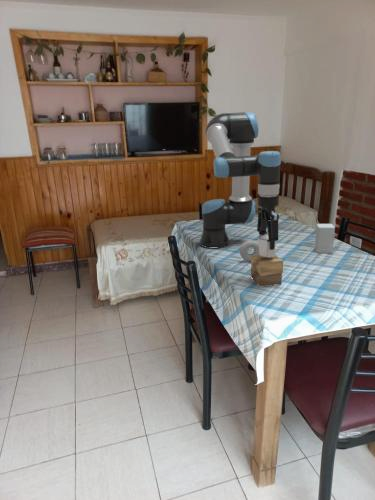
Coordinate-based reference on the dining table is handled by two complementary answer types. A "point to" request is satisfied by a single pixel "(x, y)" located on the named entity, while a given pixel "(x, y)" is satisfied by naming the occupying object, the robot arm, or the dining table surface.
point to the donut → (246, 246)
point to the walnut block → (266, 278)
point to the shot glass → (263, 245)
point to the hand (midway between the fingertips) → (266, 253)
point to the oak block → (266, 265)
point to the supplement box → (324, 238)
